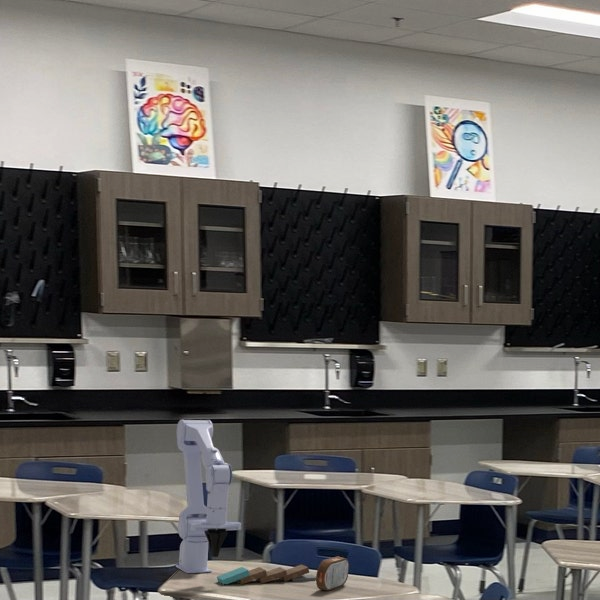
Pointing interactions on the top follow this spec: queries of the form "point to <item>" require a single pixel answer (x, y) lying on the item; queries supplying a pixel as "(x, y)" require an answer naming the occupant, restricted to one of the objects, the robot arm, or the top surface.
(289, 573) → the domino
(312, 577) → the domino
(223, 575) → the teal rectangular block
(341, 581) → the tin
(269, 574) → the domino
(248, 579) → the domino
